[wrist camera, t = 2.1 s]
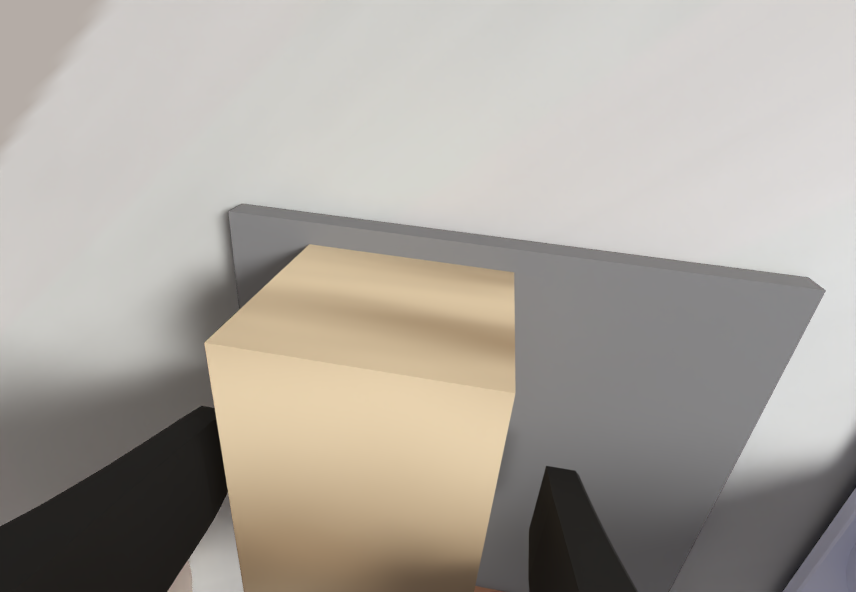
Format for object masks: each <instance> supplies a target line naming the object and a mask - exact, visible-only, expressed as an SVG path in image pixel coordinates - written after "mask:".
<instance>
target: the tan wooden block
mask: <svg viewBox="0 0 856 592" xmlns="http://www.w3.org/2000/svg"><path fill="white" fill-rule="evenodd" d="M204 344H205V351H206V357H207V363H208V369H209V376H210V382H211V388H212V394H213V401H214V407H215V413H216V420H217V426H218V432H219V438H220V445H221V451H222V457H223V463H224V470H225V476H226V482H227V489H228V495H229V501H230V507H231V514H232V520H233V526H234V532H235V539H236V545H237V551H238V557H239V564H240V570H241V576H242V583H243V589H244V592H474V590H475V585H476V580H477V575H478V570H479V566H480V561H481V556H482V551H483V546H484V542H485V537H486V532H487V527H488V523H489V518H490V513H491V508H492V503H493V499H494V494H495V489H496V484H497V479H498V475H499V470H500V465H501V460H502V456H503V451H504V446H505V441H506V436H507V432H508V427H509V422H510V417H511V412H512V408H513V403H514V398H515V301H514V272H508V271H501V270H493V269H486V268H479V267H472V266H464V265H457V264H450V263H442V262H435V261H428V260H421V259H413V258H406V257H399V256H391V255H384V254H377V253H370V252H362V251H355V250H348V249H340V248H333V247H326V246H319V245H311V244H309V245H308V246H307V247H306V248H305V249H304V250H303V251H302V252H301V253H300V254H299V255H297V256H296V257H295V258H294V259H293V260H292V261H291V262H290V263H289V264H288V265H287V266H286V267H285V268H284V269H283V270H281V271H280V272H279V273H278V274H277V275H276V276H275V277H274V278H273V279H272V280H271V281H270V282H269V283H268V284H266V285H265V286H264V287H263V288H262V289H261V290H260V291H259V292H258V293H257V294H256V295H255V296H254V297H253V298H252V299H250V300H249V301H248V302H247V303H246V304H245V305H244V306H243V307H242V308H241V309H240V310H239V311H238V312H237V313H235V314H234V315H233V316H232V317H231V318H230V319H229V320H228V321H227V322H226V323H225V324H224V325H223V326H222V327H221V328H219V329H218V330H217V331H216V332H215V333H214V334H213V335H212V336H211V337H210V338H209V339H208V340H207V341H206V342H204Z"/></svg>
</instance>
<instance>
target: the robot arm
mask: <svg viewBox="0 0 856 592" xmlns="http://www.w3.org/2000/svg"><path fill="white" fill-rule="evenodd" d="M227 493H228V489H227V482H226V476H225V470H224V463H223V457H222V451H221V445H220V438H219V432H218V426H217V420H216V413H215V408H210V407H204V406H201V407H199V408H197V409H196V410H194V411H192V412H191V413H189V414H188V415H186V416H184V417H183V418H181V419H180V420H178V421H177V422H175V423H174V424H172V425H171V426H169V427H167V428H166V429H164V430H163V431H161V432H160V433H158V434H157V435H155V436H154V437H152V438H150V439H149V440H147V441H146V442H144V443H143V444H141V445H140V446H138V447H136V448H135V449H133V450H132V451H130V452H128V453H127V454H125V455H124V456H122V457H121V458H119V459H117V460H116V461H114V462H113V463H111V464H110V465H108V466H106V467H105V468H103V469H101V470H100V471H98V472H96V473H95V474H93V475H91V476H90V477H88V478H86V479H84V480H83V481H81V482H79V483H78V484H76V485H74V486H73V487H71V488H69V489H67V490H66V491H64V492H62V493H61V494H59V495H57V496H55V497H54V498H52V499H50V500H49V501H47V502H45V503H43V504H41V505H40V506H38V507H36V508H34V509H32V510H31V511H29V512H27V513H25V514H23V515H21V516H19V517H17V518H16V519H14V520H12V521H10V522H8V523H6V524H4V525H2V526H0V592H167V591H168V590H169V588H170V587H171V585H172V584H173V582H174V581H175V579H176V577H177V576H178V574H179V573H180V571H181V570H182V568H183V567H184V565H185V564H186V562H187V561H188V559H189V558H190V556H191V554H192V553H193V551H194V550H195V548H196V547H197V545H198V544H199V542H200V540H201V539H202V537H203V536H204V534H205V533H206V531H207V529H208V528H209V526H210V525H211V523H212V521H213V520H214V518H215V516H216V514H217V512H218V511H219V509H220V507H221V505H222V503H223V501H224V499H225V497H226V495H227ZM528 581H529V592H638V591H637V589H636V587H635V585H634V584H633V582H632V580H631V578H630V576H629V575H628V573H627V571H626V569H625V567H624V565H623V564H622V562H621V560H620V558H619V556H618V555H617V553H616V551H615V549H614V547H613V545H612V543H611V541H610V539H609V538H608V536H607V534H606V532H605V530H604V528H603V526H602V524H601V522H600V520H599V518H598V516H597V514H596V511H595V509H594V507H593V505H592V503H591V501H590V499H589V497H588V494H587V492H586V490H585V488H584V485H583V483H582V481H581V479H580V476H579V475H578V473H577V472H576V471H574V470H568V469H563V468H557V467H551V466H546V468H545V472H544V476H543V479H542V483H541V487H540V490H539V494H538V498H537V502H536V505H535V509H534V513H533V516H532V520H531V524H530V527H529V559H528ZM783 592H856V488H855V490H854V491H853V492H852V494H851V495H850V497H849V498H848V499H847V501H846V502H845V504H844V505H843V507H842V508H841V509H840V511H839V512H838V514H837V515H836V517H835V518H834V519H833V521H832V522H831V524H830V525H829V526H828V528H827V529H826V531H825V532H824V534H823V535H822V536H821V538H820V539H819V541H818V542H817V544H816V545H815V546H814V548H813V549H812V551H811V552H810V554H809V555H808V556H807V558H806V559H805V561H804V562H803V563H802V565H801V566H800V568H799V569H798V571H797V572H796V573H795V575H794V576H793V578H792V579H791V581H790V582H789V583H788V585H787V586H786V588H785V589H784V590H783Z"/></svg>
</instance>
